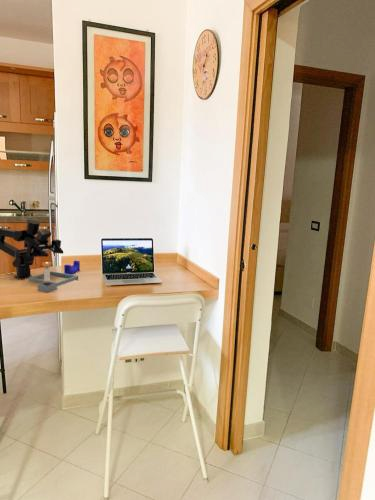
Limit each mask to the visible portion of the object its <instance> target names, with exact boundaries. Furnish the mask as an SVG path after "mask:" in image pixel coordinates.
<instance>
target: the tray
mask: <svg viewBox="0 0 375 500" xmlns="http://www.w3.org/2000/svg"><path fill="white" fill-rule="evenodd" d="M50 277H56V278H61V279H62V278H63V280H59V281H57V282H56V281H51V280H50V282H53V283H57V287H59V286H62V285H65V284H68V283H70V282H73V281H79V275H75V274H72V275H71V274H65V273H64V272H58V271H54V270H53V271H52V270H50ZM42 278H44V272H43V273H40V274H38V275H32V277H29V278H28V282H32V283H38V284H40V283H43V282H44V279H42Z"/></svg>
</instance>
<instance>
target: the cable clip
mask: <svg viewBox="0 0 375 500" xmlns="http://www.w3.org/2000/svg"><path fill="white" fill-rule="evenodd" d="M80 265H81V263H80V260H73V264H72V265H71V264H65V265H63V268H64V272H63V273H65V274H71V275H75V274H76V273H78V272H80V270H81V269H80V268H81V266H80Z"/></svg>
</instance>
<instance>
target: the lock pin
mask: <svg viewBox="0 0 375 500" xmlns="http://www.w3.org/2000/svg"><path fill="white" fill-rule="evenodd" d="M41 265H42V267H43V273H44V277H43V280H44V285H50V281H51V276H50V271H51V266H52V261H50V260H45V261H44V260H43V261H42V262H41Z"/></svg>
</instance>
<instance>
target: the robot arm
mask: <svg viewBox="0 0 375 500" xmlns="http://www.w3.org/2000/svg"><path fill="white" fill-rule="evenodd" d="M26 221H27V223H26V229H20V230H19V229H18V230H17V229H10V228H6V227H0V251H2V252H4V253H5V254H7V255H9V256H11V257H13V258H14V260H13V261H12V266H13V267H14V268H16V275H14V278H16V279H22V280H25V279H29V278H30V277H33V275H31V268H30V267H31V266H33V265H34V260H35V258H37V257H42V258H43V257H44V258H45V257H47V258H48V257H49V253H48V252H47V251H49V250H50V251H51V252H52V253H54V254H64V250H63V249H62V248H61V245H62V240H60V239H53V240H51V244H48V243H49V240H48V239H49V238H50V237H51V236H52V232H51V231H50V230H49V229H41V230H40V225H41V222H40V221H38V220H32V219H27V220H26ZM6 238H11V239H13V240H14V241H16V242H18V243H19V242H23V247H24V248H21V249H19V248H16V247H15V246H13V245H12V244H10V243H8V242H6Z"/></svg>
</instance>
